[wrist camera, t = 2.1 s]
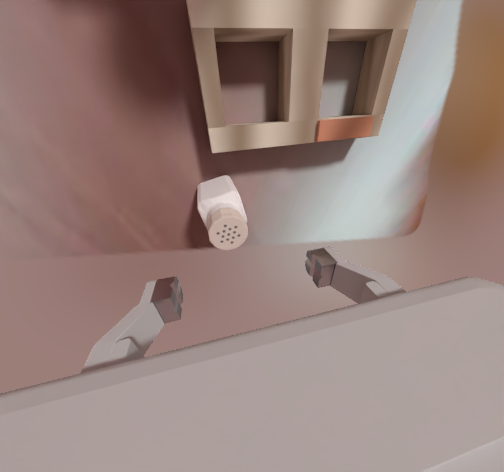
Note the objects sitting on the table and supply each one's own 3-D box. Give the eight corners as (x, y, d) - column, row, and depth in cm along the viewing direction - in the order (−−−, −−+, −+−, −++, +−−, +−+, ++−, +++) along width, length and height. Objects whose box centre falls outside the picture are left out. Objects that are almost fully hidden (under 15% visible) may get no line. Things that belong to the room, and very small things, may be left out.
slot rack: (210, 148, 20) (212, 153, 17) (186, 4, 14) (183, -23, 11) (358, 133, 23) (381, 136, 20) (387, 10, 17) (423, -11, 14)
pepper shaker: (195, 183, 21) (193, 222, 13) (228, 172, 21) (245, 204, 14) (208, 213, 23) (214, 260, 16) (238, 202, 24) (258, 244, 16)
